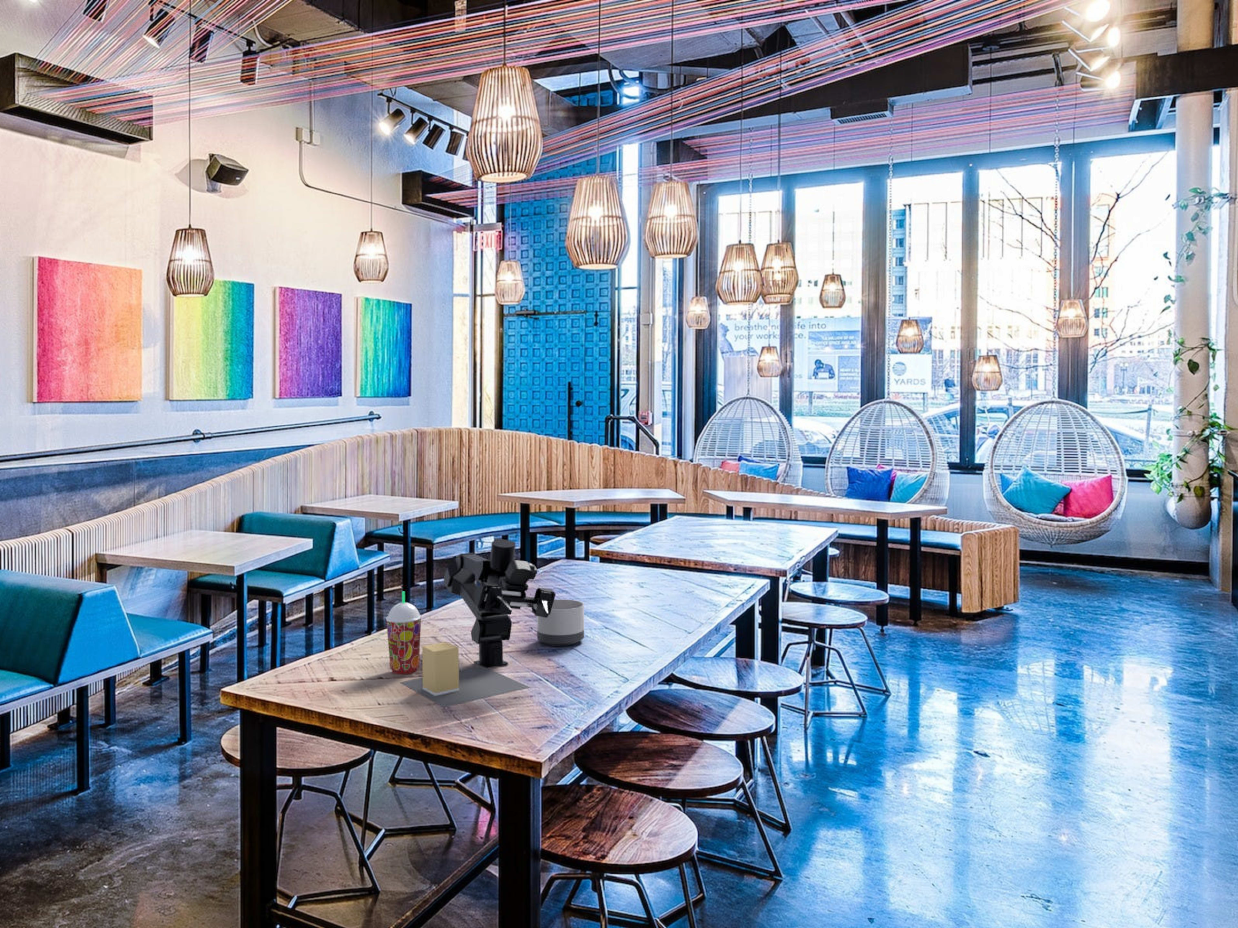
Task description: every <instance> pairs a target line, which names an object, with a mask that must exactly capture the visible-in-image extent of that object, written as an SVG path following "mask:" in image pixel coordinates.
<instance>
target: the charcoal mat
mask: <svg viewBox="0 0 1238 928" xmlns="http://www.w3.org/2000/svg"><path fill="white" fill-rule="evenodd" d="M399 683H400V684H402V686H403V685H404V686H405V687H407V688H409V689H410V690H412V691H414V692H415V693H417V694H419V695H421V696H423V697H424V698H427V699H428V700H430V701H432V702H434V703H435V704H437V705H439V706H441V707H442V708H447V707H450V706H456V705H458V704H459V705H461V704H465V703H470V702H473V701H476V700H482V699H486V698H490V697H494V696H499V695H504V694H508V693H512V692H516V691H521V690H525V689H531V687H530V686H529V685H525V684H524V683H522V682H519V681H517V680H515V679H514V678H513V679H512V678H510V677H509V676H506V675H504V674H501V673H500V672H497V671H495V670H493V669H491V668H490V667H489V668H485V667H483V666H480V665H478V666H474V667H469V668H468V667H467V668H462V669H459V691H455V692H450V693H446V694H441V695H436V696H434V695H433V694H431V693H429V692H427V691H425V690H424V689H423V677H419V678H415V679H409V680H405V681H400V682H399Z"/></svg>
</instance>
